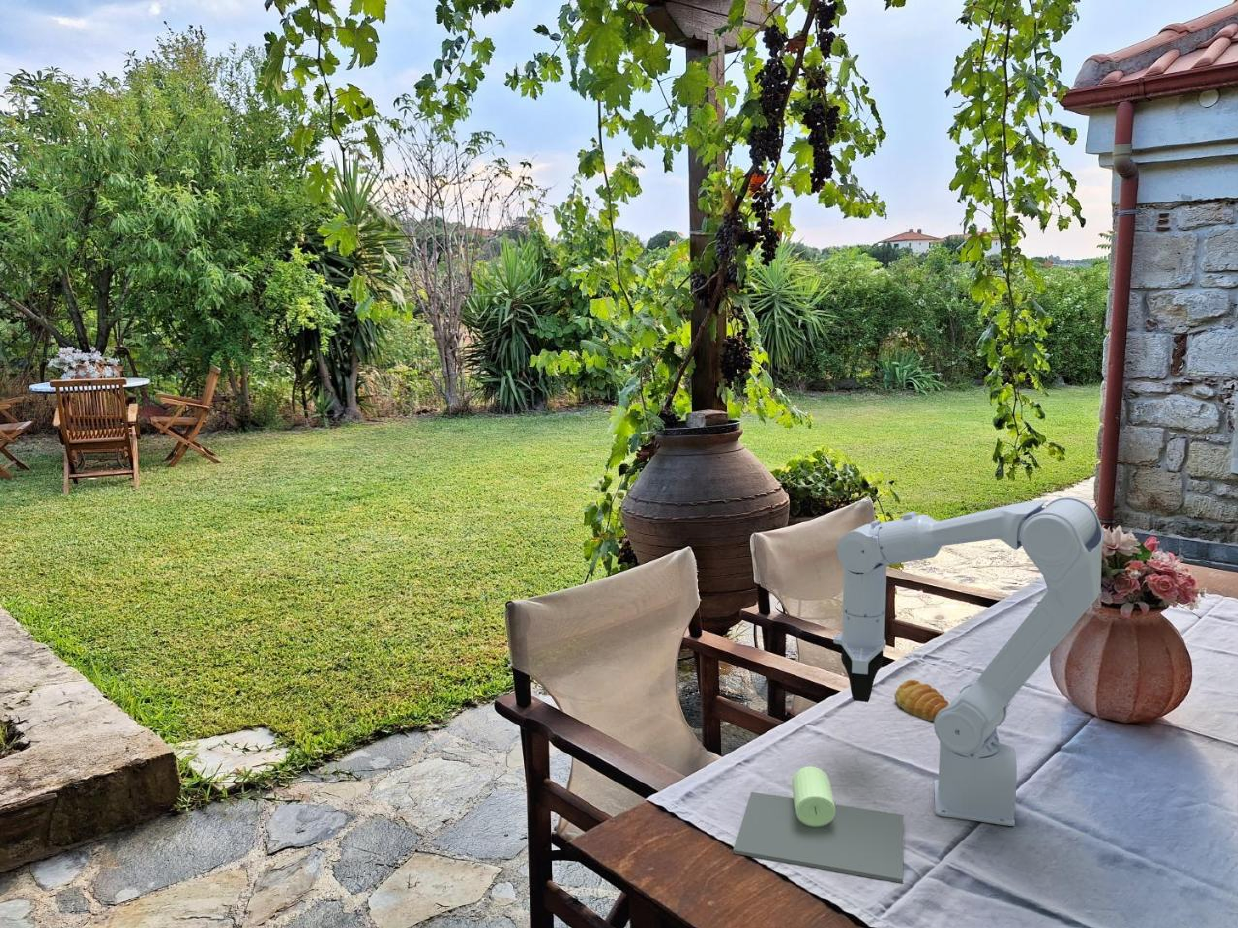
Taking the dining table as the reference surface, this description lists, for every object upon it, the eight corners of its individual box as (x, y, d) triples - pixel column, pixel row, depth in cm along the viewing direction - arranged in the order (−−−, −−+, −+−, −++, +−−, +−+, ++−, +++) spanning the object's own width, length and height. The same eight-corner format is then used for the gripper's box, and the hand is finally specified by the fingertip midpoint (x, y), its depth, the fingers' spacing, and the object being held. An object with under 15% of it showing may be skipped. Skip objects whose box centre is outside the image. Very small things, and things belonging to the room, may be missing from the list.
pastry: (962, 719, 137) (963, 697, 136) (930, 729, 134) (930, 706, 134) (920, 695, 145) (921, 674, 145) (889, 704, 143) (889, 683, 142)
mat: (903, 817, 112) (903, 814, 112) (902, 882, 100) (902, 879, 100) (751, 794, 118) (751, 791, 118) (733, 853, 106) (733, 849, 106)
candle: (832, 799, 116) (838, 832, 108) (794, 801, 117) (798, 834, 109) (827, 764, 116) (833, 794, 107) (790, 767, 116) (793, 797, 108)
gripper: (838, 589, 128) (836, 674, 131) (830, 626, 114) (828, 719, 117) (887, 593, 126) (884, 679, 128) (885, 631, 112) (881, 726, 115)
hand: (861, 699), depth 123 cm, fingers closed
